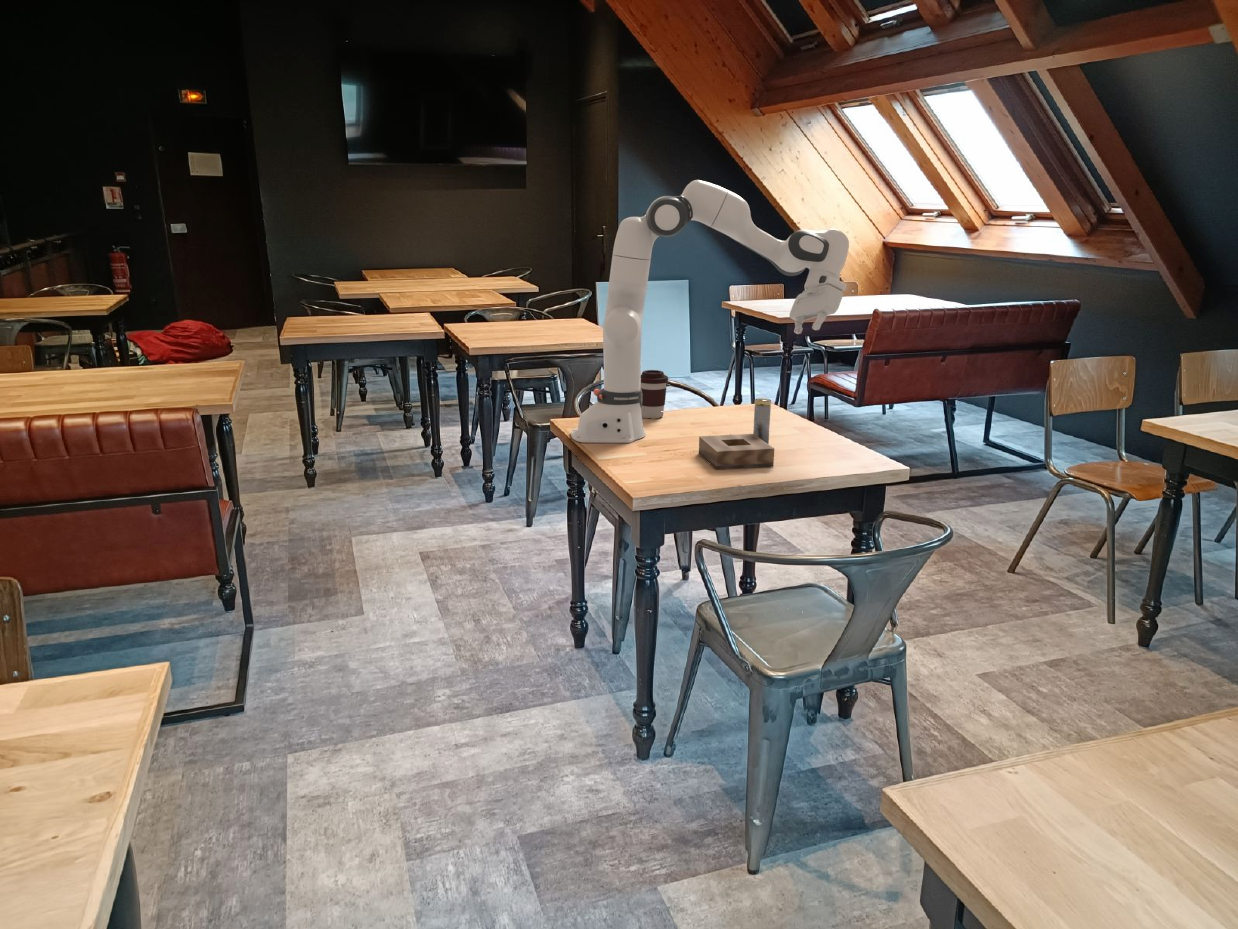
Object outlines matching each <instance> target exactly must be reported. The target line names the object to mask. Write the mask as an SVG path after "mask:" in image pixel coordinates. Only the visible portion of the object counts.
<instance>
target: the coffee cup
mask: <svg viewBox="0 0 1238 929" xmlns="http://www.w3.org/2000/svg"><path fill="white" fill-rule="evenodd" d="M668 382H669V376H668V375H666V374H665V373H664V371H662V370H657V369H647V370H643V371H641V389H642V407H641V415H642V418H644V419H648V418H658V419H661V418H660V417H662V418H663V417H664V412H661V411H665V405H666V395H667V383H668Z"/></svg>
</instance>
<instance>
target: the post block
mask: <svg viewBox="0 0 1238 929" xmlns="http://www.w3.org/2000/svg"><path fill="white" fill-rule="evenodd" d="M698 455H700V456H701V457H702V458H703V459H704V460H705V461H706V462H707V463H708V462H709V463H710V466H712V468H714V469H715V470H717V471H718V470H719V471H720V470H721V469H722V470H733V469H734V470H736V469H738V470H739V469H755V468H756V469H757V468H771V466H773V467H774V461H775V448H774V447H773V446H771V445H770V443H769V444H767V443H766V442H764V441H763V440H761V439H760V438H759V437H757V436H756V435H754V434H753V433H743V434H724V435H721V434H720V435H719V434H718V435H704V436H703V435H702V436H699V438H698ZM709 463H708V464H709Z"/></svg>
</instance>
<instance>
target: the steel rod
mask: <svg viewBox="0 0 1238 929" xmlns="http://www.w3.org/2000/svg"><path fill="white" fill-rule="evenodd" d="M771 406H772V400H771V399H769V398H763V397H762V398H755V399H754V412H753V413H754V414H753V415H754V416H753V432H752V434H754V435H756V436H757V437H759V438H760V439H761V440H763V441H764V442H766V443H767V444H769V445H770V443H769V442H770V426H771V425H770V424H771Z"/></svg>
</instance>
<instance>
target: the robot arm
mask: <svg viewBox="0 0 1238 929" xmlns="http://www.w3.org/2000/svg"><path fill="white" fill-rule="evenodd" d="M751 215H752V214H751V210H750V205H749V204H748V202H747V201H746V200H745V199H744V198H742V197H741V196H740V195H738V194H737V193H735V192H733V191H731V190H729V189H726V187H725V188H724V187H722V186H721V185H718V184H714V183H712V182H708V181H705V180H700V179H695V180H692V181H690V182H689V183H688V184H687V185H686V186H685V188H684V189H683V191H682V193H681V194H680V195H675V196H672V195H663V196H660V197H658V198H656V199H655V200H653V201H652V202H651V204H650V205H649V207H648V208H647V210H646V211H645V213H644V214H642V216H629V217H626V218H624V219H623V220H622V221H621V222H620V223H619V226H618V229H617V232H616V236H615V240H614V244H613V248H612V249H613V250H612V257H611V265H610V272H609V280H608V289H607V299H606V306H605V307H606V308H605V314H604V320H603V324H602V325H603V326H602V339H603V340H602V344H603V346H602V351H603V352H602V353H603V355H602V356H603V388H602V389H599V388H594V390H593V395H594V396H595V397H596V402H595V403H593V404H591V405H590V406H589V407H588V408H587V409H586V410H585V411H583V412H581V413H580V416H579V419H578V423H577V427H575V428H573V429H571V431H570V437H571V438H572V439H573V440H574V441H576V442H579V443H585V444H586V443H587V444H588V443H598V444H599V443H603V444H604V443H611V444H613V443H614V444H615V443H618V444H619V443H621V444H622V443H625V444H626V443H629V444H630V443H633V442H635V441H637V440H640V439H642V438H644V437H646V432H645V428H644V423H643V417H642V415H641V407H642V389H641V375H642V326H643V324H642V322H643V315H644V309H645V308H644V307H645V302H646V301H645V300H646V295H647V289H648V288H647V287H648V282H649V274H650V267H651V262H652V261H651V259H652V252H653V247H654V243H655V241H656V240H657V239H658V238H659V237H662V238H671V237H674V236H676V235H678V234H680V233H681V232H682V231H683V230H684V228H685V227H686V226H687V224H689V222H691V221H695V222H699V223H701V224H704V225H706V226H707V227H710V229H711V228H712V229H714V230H715V231H717V232H719V233H721V234H724V235H726V236H728V237H729V238H731V239H733V241H735V242H737V243H739V244H740V245H742V246H744V247H745V248H747V249H748V250H750V251H752V252H754V253H756V254H757V255H760V256H761V257H762V258H764V259H766V260H767V261H769V262H770V264H772V265H773V267H775V269H776V270H777V271H778V272H779V273H781V274H782V275H783V276H787V277H795V276H798V275H801V274H802V273H803V272H804V271H805V270H806V269H808V274H807V277H806V281H805V283H804V286H803V287H804V290H802V293H799V294H798V295H797V296H796V297H795V299H794V301H793V303H792V307H791V308H790V312H789V318H790V320H793V321H794V330H793V333H795V334H796V335H799V334H800V335H801V334H802V332H803V329H804V328H803V324H804V322H805V321H808V320H812V319H813V320H814V319H815V321H814V322H813V323H812V326H811V328H812V330H814V331H820V329H821V327H822V324H823V323H824V322H825V320H826V319H827V316H830V315H834V314H836V312H837V311H838V309H839V307H840V305H841V302H842V299H843V296H844V292H845V291H846V289H847V287H848V285H847V284H846V283H845V282H842V281H841V280H840V279H841V272H842V271H843V269H844V267H845V265H846V261H847V257H848V253H849V248H850V240H849V237H848V236H847V235H846V234H845V233H844V232H843V231H842V230H841V231H840V230H839V229H835V228H827V229H825V230H824V229H823V230H810V229H806V228H805V229H804V228H801V229H798V230H795V231H794V232H793V233H791V234H790V235H789V236H788V238H787V239H786V240H781V239H778V238H777V237H774V236H772V235H771V234H769V233H768V232H766V231H764V230H763V229H761V228H759V227H757V226H756V224H754V222H753V220H752V216H751Z"/></svg>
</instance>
